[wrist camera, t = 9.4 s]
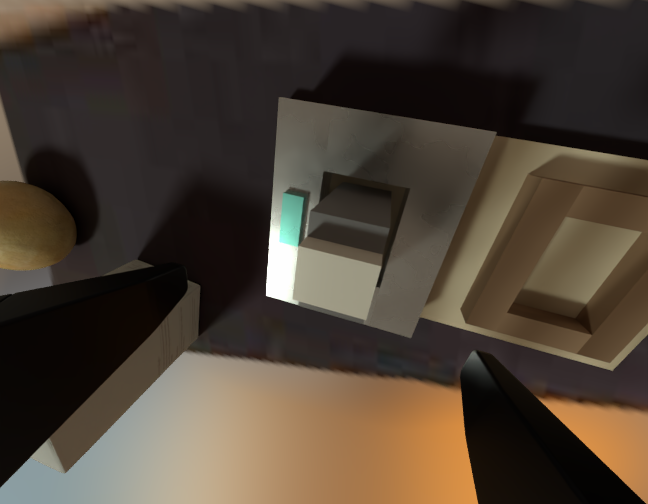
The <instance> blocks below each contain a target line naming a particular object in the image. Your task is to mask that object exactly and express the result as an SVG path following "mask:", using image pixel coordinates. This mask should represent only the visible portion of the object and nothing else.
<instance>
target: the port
mask: <svg viewBox="0 0 648 504" xmlns="http://www.w3.org/2000/svg"><path fill="white" fill-rule="evenodd" d="M496 133H497V132H494V131H487V130H481V129H475V128H469V127H463V126H456V125H450V124H444V123H438V122H431V121H425V120H419V119H413V118H407V117H400V116H394V115H388V114H382V113H376V112H369V111H363V110H357V109H351V108H345V107H338V106H332V105H326V104H320V103H313V102H307V101H301V100H295V99H289V98H282V97H279V104H278V120H277V135H276V150H275V166H274V181H273V197H272V212H271V228H270V243H269V258H268V274H267V289H266V296H269V297H273V298H276V299H280V300H283V301H287V302H290V303H293V304H297V305H298V303H299V301H296V300H292V299H293V290H294V281H295V272H296V263H297V254H298V246H299V245H300V244H301V242H302V241H303V240H304V239H305V238H306V237H307V231H308V223H309V215H310V210H312V209H313V208H314V207H315V206H316V205H317V204H318V203H320V202H321V201H322V200H323V199H324V198H325V197H326V196H328V195H329V191H330V185H331V179H332V173H336V174H341V175H346V176H351V177H356V178H360V179H365V180H370V181H375V182H380V183H385V184H390V185H395V186H400V187H405V188H406V189H405V192H404V196H403V199H402V203H401V206H400V209H399V213H398V216H397V219H396V223H395V226H394V229H393V233H392V236H391V239H390V243H389V246H388V249H387V253H386V256H385V259H384V263H383V266H382V269H381V270H380V273H379V277H378V280H377V284H376V287H375V291H374V294H373V298H372V301H371V305H370V308H369V312H368V315H367V319H366V320H364V323H363V324H365V325H368V326H372V327H375V328H379V329H382V330H385V331H389V332H392V333H396V334H399V335H402V336H406V337H409V338H411V337H412V334H413V332H414V329H415V327H416V325H417V322H418V320H419V317H420V315H421V313H422V310H423V308H424V305H425V303H426V301H427V298H428V296H429V293H430V291H431V289H432V286H433V284H434V281H435V279H436V277H437V274H438V272H439V269H440V267H441V265H442V262H443V260H444V258H445V255H446V253H447V250H448V248H449V246H450V243H451V241H452V238H453V236H454V234H455V231H456V229H457V226H458V224H459V222H460V219H461V217H462V214H463V212H464V210H465V207H466V205H467V202H468V200H469V198H470V195H471V193H472V190H473V188H474V186H475V183H476V181H477V179H478V176H479V174H480V171H481V169H482V167H483V164H484V162H485V159H486V157H487V155H488V152H489V150H490V147H491V145H492V143H493V140H494V138H495V135H496Z"/></svg>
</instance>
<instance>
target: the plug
mask: <svg viewBox="0 0 648 504" xmlns="http://www.w3.org/2000/svg"><path fill="white" fill-rule="evenodd" d="M391 193H392V191H387V190H382V189H377V188H372V187H367V186H362V185H357V184H352V183H347V182H342V183H341V184H340V185H339V186H338V187H337V188H335V189H334V190H333V191H332V192H331V193H330V194H329V195H328V196H326V197H325V198H324V199H323V200H322V201H321V202H320V203H318V204H317V205H316V206H315V207H314V208H313V209H312V210H310V215H309V223H308V231H307V237H306V238H305V239H304V240H303V241H302V242H301V244H300V245H299V246H298V254H297V263H296V272H295V281H294V290H293V299H292V300H296V301H299V303H298V306H301V307H305V308H308V309H312V310H315V311H319V312H322V313H326V314H329V315H333V316H336V317H340V318H343V319H347V320H350V321H354V322H357V323H361V324H363V323H364V320H366V319H367V315H368V312H369V308H370V305H371V301H372V298H373V294H374V291H375V287H376V284H377V280H378V277H379V273H380V270H381V266H382V256H383V251H384V248H385V244H386V241H387V237H388V233H389V230H390V215H391Z"/></svg>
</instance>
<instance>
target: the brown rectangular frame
mask: <svg viewBox="0 0 648 504" xmlns="http://www.w3.org/2000/svg"><path fill="white" fill-rule="evenodd" d="M565 217H569V218H574V219H579V220H584V221H589V222H594V223H599V224H604V225H609V226H614V227H619V228H624V229H629V230H634V231H639V232H642V233H641V234H640V236H639V237H638V238H637V239H636V241H635V242H634V243H633V245H632V246H631V247H630V248H629V250H628V251H627V252H626V254H625V255H624V256H623V258H622V259H621V260H620V261H619V263H618V264H617V265H616V267H615V268H614V269H613V270H612V272H611V273H610V274H609V276H608V277H607V278H606V279H605V281H604V282H603V283H602V285H601V286H600V287H599V288H598V290H597V291H596V292H595V294H594V295H593V296H592V298H591V299H590V300H589V301H588V303H587V304H586V305H585V307H584V308H583V309H582V310H581V312H580V313H579V314H578V316H577V317H576V318H572V317H568V316H564V315H560V314H556V313H552V312H548V311H545V310H541V309H537V308H533V307H529V306H525V305H521V304H517V303H513V302H514V300H515V298H516V297H517V295H518V293H519V292H520V290H521V289H522V287H523V285H524V284H525V282H526V280H527V279H528V277H529V275H530V274H531V272H532V271H533V269H534V267H535V266H536V264H537V262H538V261H539V259H540V257H541V256H542V254H543V253H544V251H545V249H546V248H547V246H548V244H549V243H550V241H551V239H552V238H553V236H554V234H555V233H556V231H557V230H558V228H559V226H560V225H561V223H562V221H563V220H564V218H565ZM460 310H461V313H462V315H463V318H464V321H465V323H466V324H469V325H473V326H477V327H480V328H484V329H487V330H491V331H495V332H498V333H502V334H506V335H509V336H513V337H516V338H520V339H524V340H527V341H531V342H535V343H538V344H542V345H545V346H549V347H553V348H556V349H560V350H564V351H567V352H571V353H574V354H578V355H582V356H585V357H589V358H593V359H596V360H600V361H603V362H607V363H611V362H612V361H613V360H614V358H615V357H616V356H617V355H618V354H619V353H620V352H621V351H622V350H623V349H624V348H625V347H626V346H627V345H628V344H629V343H630V342H631V341H632V340H633V338H634V337H635V336H636V335H637V334H638V333H639V332H640V331H641V330H642V329H643V328H644V327H645V326H646V325H647V324H648V196H645V195H640V194H634V193H629V192H623V191H618V190H612V189H607V188H601V187H596V186H590V185H585V184H579V183H574V182H568V181H563V180H557V179H552V178H546V177H541V176H535V175H530V174H528V175H527V177H526V179H525V181H524V183H523V185H522V187H521V189H520V191H519V193H518V195H517V197H516V198H515V200H514V202H513V204H512V206H511V208H510V210H509V212H508V214H507V216H506V218H505V220H504V222H503V224H502V226H501V228H500V230H499V232H498V234H497V236H496V238H495V240H494V242H493V244H492V246H491V248H490V250H489V252H488V254H487V256H486V258H485V260H484V262H483V264H482V266H481V268H480V270H479V272H478V274H477V276H476V278H475V280H474V282H473V284H472V286H471V288H470V290H469V292H468V294H467V296H466V298H465V300H464V302H463V304H462V306H461V308H460Z"/></svg>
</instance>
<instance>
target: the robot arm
mask: <svg viewBox="0 0 648 504" xmlns="http://www.w3.org/2000/svg"><path fill="white" fill-rule="evenodd" d="M187 290H188V280H187V270H186V268H185V266H183V265H180V264H177V263H167V264H162V265H157V266H152V267H146V268H141V269H136V270H131V271H126V272H121V273H116V274H111V275H105V276H100V277H95V278H90V279H85V280H80V281H75V282H69V283H64V284H59V285H54V286H49V287H44V288H39V289H34V290H29V291H23V292H18V293H15V294H13V295H12V294H7V295H2V296H0V487H1V486H2V485H3V484H4V483H5V482H6V481H7V480H8V479H9V478H10V477H11V476H12V475H13V474H14V473H15V472H16V471H17V470H18V469H19V468H20V467H21V466H22V465H23V464H24V463H25V462H26V461H27V460H28V459H29V458H30V457H31V456H32V455H33V454H34V453H35V452H36V451H37V450H38V449H39V448H40V447H41V446H42V445H43V444H44V443H45V442H46V441H47V440H48V439H49V438H50V437H51V436H52V435H53V434H54V433H55V432H56V431H57V430H58V429H59V428H60V427H61V426H62V425H63V424H64V423H65V422H66V421H67V420H68V419H69V418H70V417H71V416H72V415H73V414H74V412H75V411H76V410H77V409H78V408H79V407H80V406H81V405H82V404H83V403H84V402H85V401H86V400H87V399H88V398H89V397H90V396H91V395H92V394H93V393H94V392H95V391H96V390H97V389H98V388H99V387H100V386H101V385H102V384H103V383H104V382H105V381H106V380H107V379H108V378H109V377H110V376H111V375H112V374H113V373H114V372H115V371H116V370H117V369H118V368H119V367H120V366H121V365H122V364H123V363H124V362H125V361H126V360H127V359H128V358H129V357H130V356H131V355H132V354H133V353H134V352H135V351H136V350H137V349H138V348H139V347H140V346H141V345H142V344H143V343H144V342H145V341H146V340H147V339H148V338H149V337H150V335H151V334H152V333H153V332H154V331H155V330H156V329H157V328H158V327H159V325H160V324H161V323H162V322H163V321H164V319H165V318H166V317H167V316H168V315H169V313H170V312H171V311H172V310H173V309H174V307H175V306H176V305H177V304H178V302H179V301H180V300H181V299H182V298H183V296H184V295H185V294H186V292H187ZM460 380H461V392H462V403H463V416H464V427H465V436H466V442H467V448H468V452H469V458H470V463H471V468H472V473H473V479H474V484H475V489H476V494H477V500H478V504H646V503H645V502H644V501H643V500H642V499H641V498H640V497H639V496H638V495H637V494H635V493H634V492H633V491H632V490H631V489H630V488H629V487H628V486H627V485H626V484H625V483H624V482H623V481H622V480H621V479H620V478H619V477H618V476H617V475H616V474H615V473H614V472H613V471H612V470H610V468H609V467H607V465H606V464H604V463H603V462H602V461H601V460H600V459H599V458H598V457H597V456H596V455H595V454H594V453H593V452H592V451H591V450H590V449H589V448H588V447H587V446H586V445H585V444H584V443H583V442H582V441H581V440H580V439H579V438H578V437H577V436H576V435H575V434H573V432H571V431H570V430H569V429H568V428H567V427H566V426H565V425H564V424H563V423H562V422H561V421H560V420H559V419H558V418H557V417H556V416H555V415H554V414H553V413H552V412H551V411H550V410H549V409H548V408H547V407H546V406H545V405H544V404H543V403H542V402H541V401H539V400H538V399H537V398H536V397H535V396H534V395H533V394H532V393H531V392H530V391H529V390H528V389H527V388H526V387H525V386H524V385H523V384H522V383H521V382H520V381H519V380H518V379H517V378H516V377H515V376H514V375H513V374H512V373H511V372H510V371H509V370H507V369H506V368H505V367H504V366H503V365H502V364H501V363H500V362H499V361H498V360H497V359H496V358H495V357H494V356H493V355H492V354H490V353H486V352H483V351H479V350H474V351H473V352H472V353H471V354H470V356H469V358H468V359H467V361H466V363H465V365H464V366H463V368H462V370H461V374H460Z"/></svg>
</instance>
